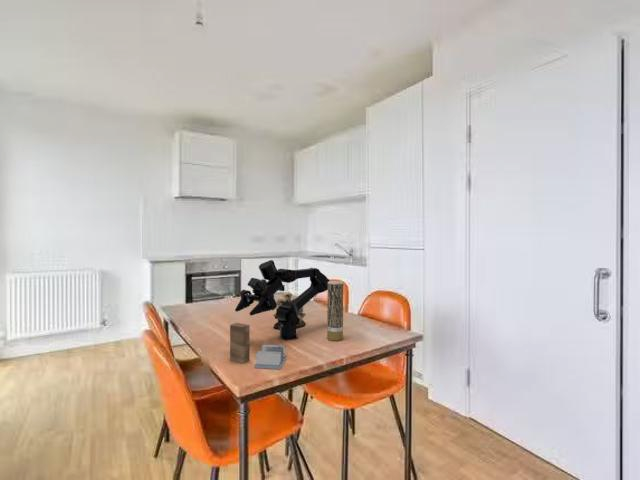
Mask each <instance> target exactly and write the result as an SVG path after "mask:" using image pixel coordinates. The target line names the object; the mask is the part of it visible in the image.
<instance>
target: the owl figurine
mask: <svg viewBox="0 0 640 480" xmlns="http://www.w3.org/2000/svg"><path fill="white" fill-rule="evenodd" d="M292 296H293V294H292V292H290V291H285V292H284V293H283V294H282V296H280V297H279V298H277V300H276V303H277V306H276V308H275V309H276V310H277V309H278V308H279V307H278V306H280V305H281V304H282V303H283V302H290V303H291V302H292V301H293V300H295V299H296V298H297V297H298V296H296V297H294V298H293V299H292ZM272 316H273V317H274V319H275V320H278V319H277V317H276V312H275V313H273V314H272ZM305 316H306V313H305V312H304V306H303V307H302V308H301V309H299V310H298V314H297V317H298V318H299V319H300V321H299V324H297V325H296V330H297V329H300V328H303V327H305V326H306V322H305V320H304V319H303V318H304V317H305ZM280 327H281V323H278V321H276V322H275V323H274V325H273V328H274V329H276V330H278V331H280Z"/></svg>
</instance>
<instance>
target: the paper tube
mask: <svg viewBox="0 0 640 480" xmlns="http://www.w3.org/2000/svg"><path fill="white" fill-rule="evenodd" d="M326 312H327V315H326V316H327V317H326V319H327V320H326V321H327V323H326V325H327V328H326V329H327V331H326V333H327V338H326V339H328V341H332V342H339V341H342V340H343V338H344V281H341V280H329V281H328V290H327V311H326Z"/></svg>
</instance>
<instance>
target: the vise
mask: <svg viewBox="0 0 640 480" xmlns="http://www.w3.org/2000/svg"><path fill="white" fill-rule="evenodd" d="M286 348H287V347H286V345H282V344H281V345H280V344H263V345H262V346H261V350H258V351H257V352H256V354H255V355H256V359H255V360H256V362H255V363H254V369H267V370H269V369H270V370H281V369H282V368H283V365H284V364H285V362H286V361H287V355H285V354H286Z"/></svg>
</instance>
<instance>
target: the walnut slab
mask: <svg viewBox="0 0 640 480" xmlns="http://www.w3.org/2000/svg"><path fill="white" fill-rule="evenodd" d="M250 330H251V329H250V324H248V323H241V322H234V323H231V324H229V333H230V334H229V338H230V339H229V341H230V342H229V345H230V346H229V347H230V348H229V361H232V362H234V363H235V362H236V363H238V364H246V363H247V362H249V361H250V350H251V349H250V345H251V344H250V343H251V342H250V340H251V339H250V335H251V334H250V333H251V331H250Z"/></svg>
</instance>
